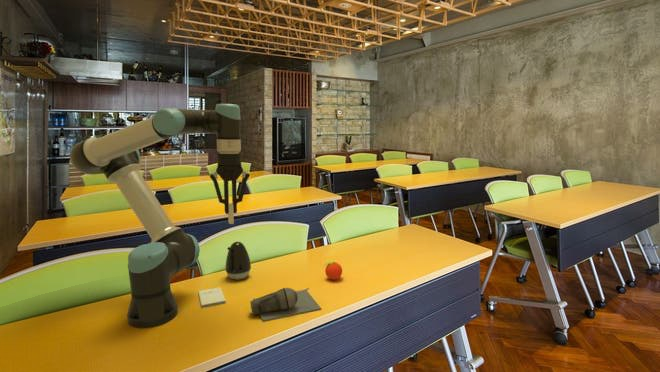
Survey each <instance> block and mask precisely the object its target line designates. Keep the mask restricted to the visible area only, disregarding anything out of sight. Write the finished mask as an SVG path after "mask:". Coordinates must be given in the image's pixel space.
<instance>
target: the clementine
mask: <svg viewBox="0 0 660 372" xmlns="http://www.w3.org/2000/svg"><path fill="white" fill-rule="evenodd" d="M325 266H326V267H325ZM323 267H325V271H324V272H325V275H326V277H327V278H328V279H330V280H334V281H335V280H338V279H339V278H341V276H342V274H343V268H342V266H341V264H339V263H338V262H335V261H333V262H327V263H325V264H324V265H323Z"/></svg>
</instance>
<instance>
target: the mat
mask: <svg viewBox="0 0 660 372" xmlns="http://www.w3.org/2000/svg"><path fill="white" fill-rule="evenodd" d="M302 290H303V289H301V290H295V291H296V293H297V292H300V291H302ZM297 297H298V300H297V303H296V304H295V306H294V307H292V308H290V309H287V310H278V311H273V312H267V313H262V314H259V316H260V319H261V320H262V322H268V321H272V320H277V319H283V318H287V317H292V316H297V315H302V314H306V313H307V314H308V313H311V312H316V311H320V310H322V307H321V306H320V305H319V303H318V301H316V300H315V299H314V297H313V296H312V295H311V294H310V292H309V290H306V291H304V292H301V293H299V294H297ZM255 299H257V298H252V300H255Z"/></svg>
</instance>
